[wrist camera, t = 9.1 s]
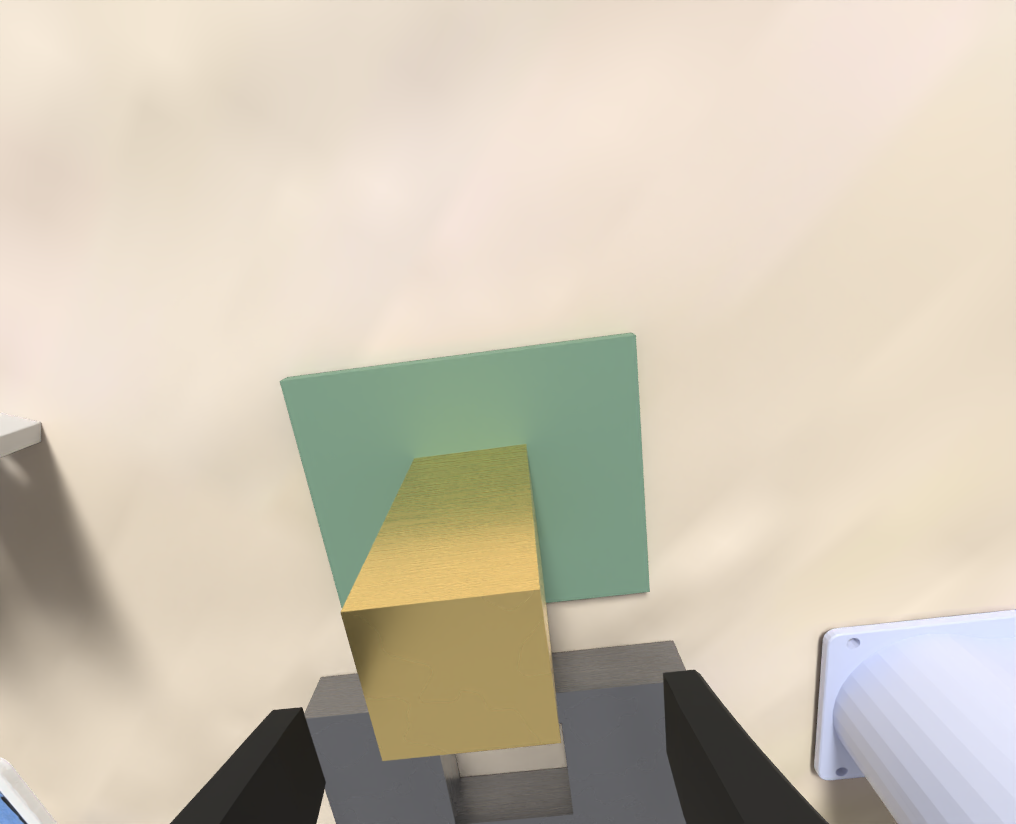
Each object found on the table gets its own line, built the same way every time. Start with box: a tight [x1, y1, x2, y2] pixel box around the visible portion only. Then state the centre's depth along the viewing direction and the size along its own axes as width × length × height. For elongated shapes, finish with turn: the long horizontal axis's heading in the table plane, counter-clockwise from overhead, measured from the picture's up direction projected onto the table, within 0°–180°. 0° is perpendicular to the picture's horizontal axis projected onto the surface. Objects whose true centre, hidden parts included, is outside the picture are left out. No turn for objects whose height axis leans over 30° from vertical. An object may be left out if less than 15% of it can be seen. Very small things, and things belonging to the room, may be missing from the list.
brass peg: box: [341, 444, 561, 761], centre depth 14 cm, size 4×4×8 cm
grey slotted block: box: [304, 641, 686, 824], centre depth 21 cm, size 15×8×2 cm, turn 97°
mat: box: [280, 333, 650, 608], centre depth 18 cm, size 12×10×1 cm
